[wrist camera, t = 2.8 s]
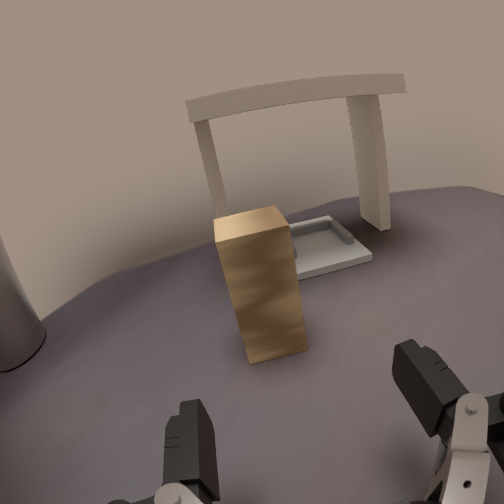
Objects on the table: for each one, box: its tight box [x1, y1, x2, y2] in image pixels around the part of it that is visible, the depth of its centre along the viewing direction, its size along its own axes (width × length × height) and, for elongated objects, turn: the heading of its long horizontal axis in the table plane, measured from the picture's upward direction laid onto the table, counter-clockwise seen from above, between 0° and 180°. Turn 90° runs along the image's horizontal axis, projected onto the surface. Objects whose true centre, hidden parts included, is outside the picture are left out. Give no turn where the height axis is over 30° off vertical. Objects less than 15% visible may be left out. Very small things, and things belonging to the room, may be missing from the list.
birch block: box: [214, 205, 308, 365], centre depth 22 cm, size 4×4×10 cm
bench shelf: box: [185, 74, 407, 280], centre depth 34 cm, size 21×14×19 cm, turn 98°
